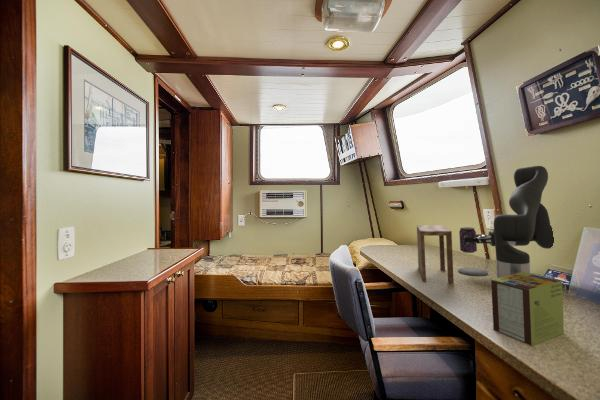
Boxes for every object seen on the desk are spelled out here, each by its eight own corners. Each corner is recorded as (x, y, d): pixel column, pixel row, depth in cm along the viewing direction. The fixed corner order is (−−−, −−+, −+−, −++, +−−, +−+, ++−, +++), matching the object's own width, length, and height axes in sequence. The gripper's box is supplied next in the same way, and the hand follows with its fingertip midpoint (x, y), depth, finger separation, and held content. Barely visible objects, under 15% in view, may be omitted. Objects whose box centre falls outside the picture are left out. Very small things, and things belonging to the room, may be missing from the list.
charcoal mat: (487, 270, 143) (487, 269, 143) (487, 277, 132) (487, 276, 132) (459, 267, 150) (459, 266, 150) (456, 274, 140) (456, 272, 140)
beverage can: (457, 251, 140) (455, 228, 140) (466, 249, 143) (465, 226, 143) (470, 254, 134) (469, 229, 134) (480, 251, 137) (478, 227, 137)
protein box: (565, 333, 79) (562, 280, 79) (531, 346, 73) (529, 289, 73) (524, 319, 89) (522, 271, 89) (491, 329, 83) (489, 278, 83)
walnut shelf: (444, 269, 149) (442, 225, 149) (453, 283, 126) (451, 231, 125) (418, 268, 154) (416, 225, 153) (422, 282, 130) (420, 231, 130)
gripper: (496, 228, 140) (459, 229, 146) (507, 232, 127) (465, 233, 132) (497, 243, 140) (460, 243, 146) (507, 249, 127) (466, 249, 132)
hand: (463, 238), depth 139 cm, fingers closed on beverage can, 6 cm apart
